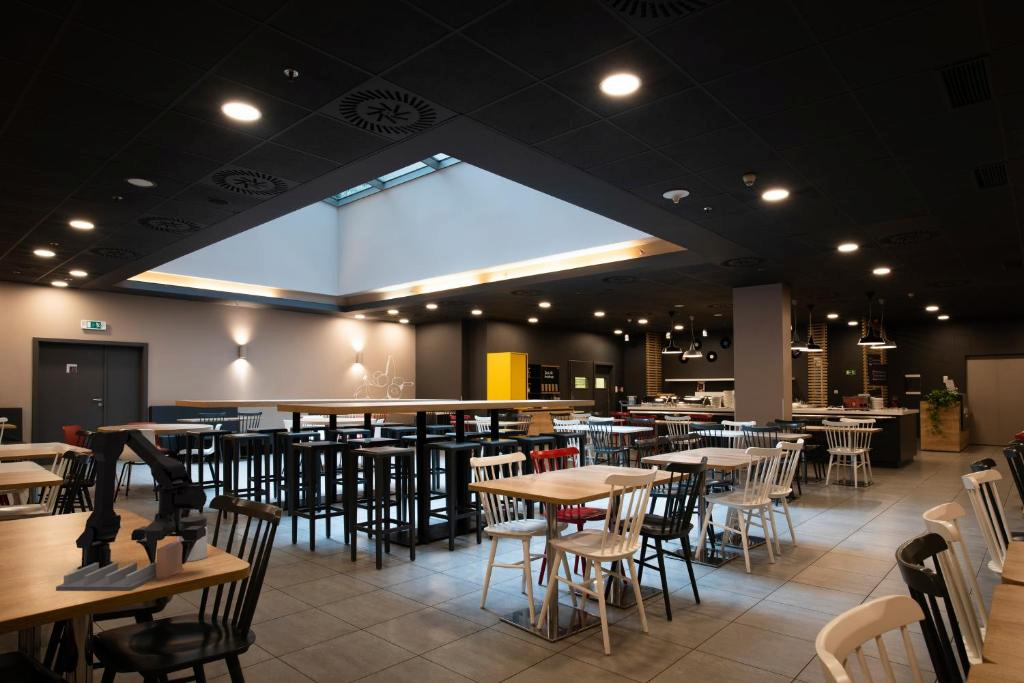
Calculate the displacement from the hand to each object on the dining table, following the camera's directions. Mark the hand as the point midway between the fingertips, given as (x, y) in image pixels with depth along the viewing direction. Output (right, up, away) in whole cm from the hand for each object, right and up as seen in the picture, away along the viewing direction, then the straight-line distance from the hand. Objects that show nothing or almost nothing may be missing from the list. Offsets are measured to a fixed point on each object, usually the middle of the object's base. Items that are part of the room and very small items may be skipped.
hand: (168, 564), depth 179 cm
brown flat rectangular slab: (0, -3, 0) cm, 3 cm away
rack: (-11, -2, -8) cm, 14 cm away
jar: (-1, -4, +16) cm, 16 cm away
